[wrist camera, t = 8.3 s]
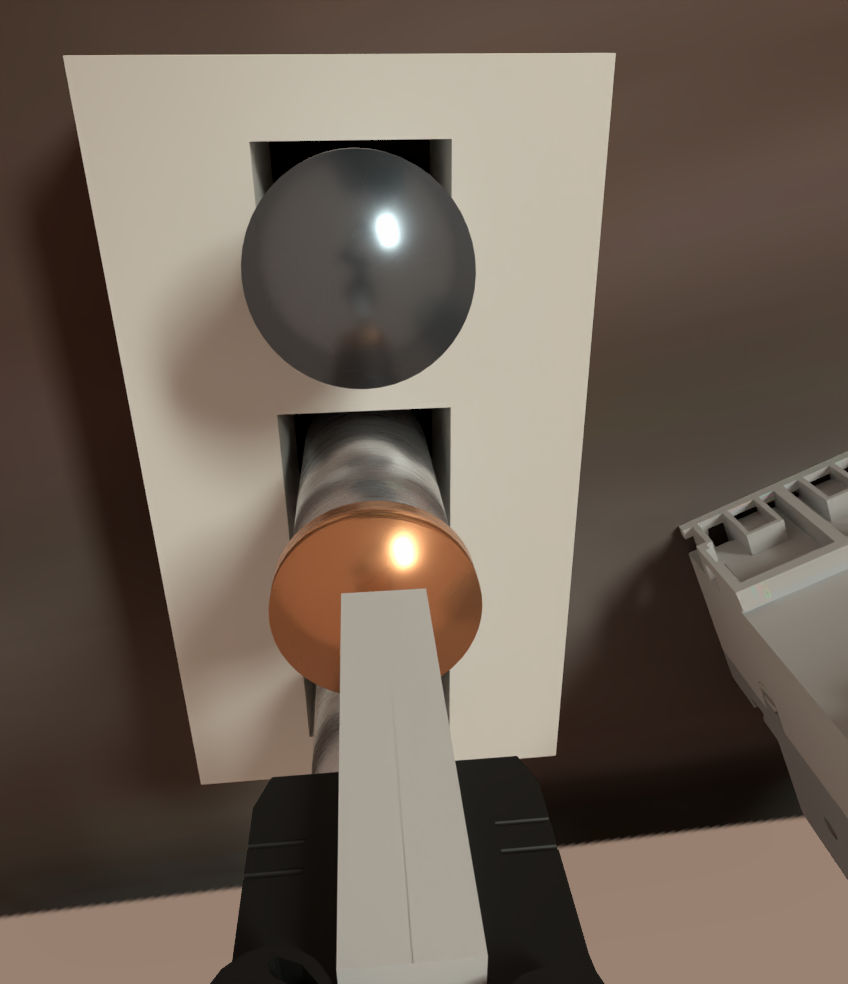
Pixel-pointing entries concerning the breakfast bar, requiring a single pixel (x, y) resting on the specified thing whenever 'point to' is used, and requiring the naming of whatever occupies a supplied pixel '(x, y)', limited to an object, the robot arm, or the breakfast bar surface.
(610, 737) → the breakfast bar surface
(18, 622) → the breakfast bar surface
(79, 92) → the panel
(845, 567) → the circuit breaker
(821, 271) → the breakfast bar surface
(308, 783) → the robot arm
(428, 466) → the plunger mid
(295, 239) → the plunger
